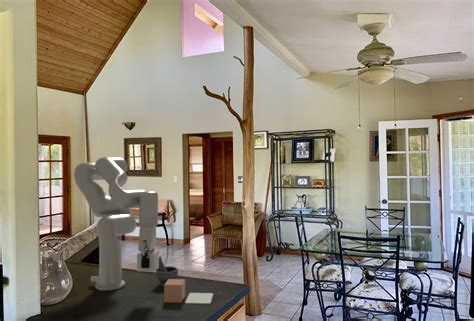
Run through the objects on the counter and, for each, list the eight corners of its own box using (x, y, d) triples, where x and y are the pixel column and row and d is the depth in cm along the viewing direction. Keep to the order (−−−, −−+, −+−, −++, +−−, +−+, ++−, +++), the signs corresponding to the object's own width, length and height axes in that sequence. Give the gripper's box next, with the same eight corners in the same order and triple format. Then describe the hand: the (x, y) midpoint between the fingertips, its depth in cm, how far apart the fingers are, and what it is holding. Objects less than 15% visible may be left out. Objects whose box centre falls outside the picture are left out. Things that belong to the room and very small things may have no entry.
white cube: (136, 271, 146) (137, 253, 146) (142, 266, 153) (142, 249, 153) (154, 271, 146) (154, 254, 146) (158, 266, 153) (158, 249, 153)
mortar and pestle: (181, 283, 168) (182, 257, 169) (169, 289, 160) (169, 261, 160) (162, 279, 174) (162, 254, 174) (149, 285, 165) (149, 258, 166)
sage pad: (185, 303, 144) (185, 302, 144) (189, 293, 155) (189, 292, 155) (210, 304, 144) (210, 303, 144) (213, 294, 155) (213, 293, 155)
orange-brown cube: (164, 302, 145) (164, 284, 145) (168, 295, 152) (168, 279, 152) (181, 302, 145) (181, 284, 145) (185, 296, 152) (185, 279, 152)
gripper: (145, 218, 158) (145, 259, 158) (132, 225, 141) (132, 271, 141) (162, 218, 158) (162, 259, 158) (151, 225, 141) (151, 271, 140)
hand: (148, 264), depth 149 cm, fingers closed on white cube, 7 cm apart
